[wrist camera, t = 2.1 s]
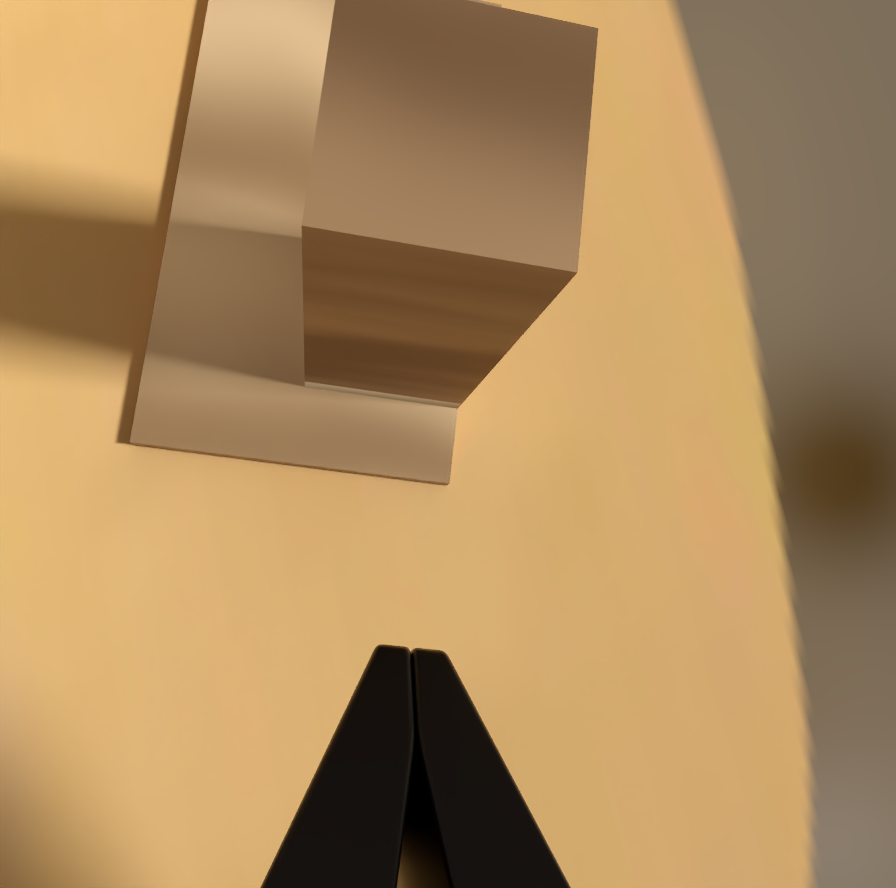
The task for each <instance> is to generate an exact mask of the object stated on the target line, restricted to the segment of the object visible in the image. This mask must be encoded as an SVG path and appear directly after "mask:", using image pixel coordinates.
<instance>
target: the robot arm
mask: <svg viewBox="0 0 896 888" xmlns="http://www.w3.org/2000/svg"><path fill="white" fill-rule="evenodd" d="M261 888H570V886H569V884H568V882H567V880H566V878H565V876H564V874H563V872H562V871H561V869H560V867H559V865H558V863H557V861H556V859H555V857H554V855H553V853H552V852H551V850H550V848H549V846H548V844H547V842H546V840H545V838H544V836H543V835H542V833H541V831H540V829H539V827H538V825H537V823H536V821H535V819H534V818H533V816H532V814H531V812H530V810H529V808H528V806H527V804H526V802H525V800H524V799H523V797H522V795H521V793H520V791H519V789H518V787H517V785H516V783H515V782H514V780H513V778H512V776H511V774H510V772H509V770H508V768H507V766H506V765H505V763H504V761H503V759H502V757H501V755H500V753H499V751H498V749H497V748H496V746H495V744H494V742H493V740H492V738H491V736H490V734H489V732H488V730H487V729H486V727H485V725H484V723H483V721H482V719H481V717H480V715H479V713H478V712H477V710H476V708H475V706H474V704H473V702H472V700H471V698H470V696H469V695H468V693H467V691H466V689H465V687H464V685H463V683H462V681H461V679H460V678H459V676H458V674H457V672H456V670H455V668H454V666H453V664H452V662H451V660H450V659H449V657H448V655H447V654H446V653H445V652H443V651H440V650H432V649H422V648H415V649H413V650H412V651H411V652H410V650H409V649H408V648H407V647H402V646H392V645H378V646H377V647H376V648H375V649H374V651H373V653H372V655H371V658H370V660H369V662H368V664H367V666H366V668H365V670H364V672H363V674H362V676H361V678H360V681H359V683H358V685H357V687H356V689H355V691H354V693H353V695H352V697H351V699H350V702H349V704H348V706H347V708H346V710H345V712H344V714H343V716H342V718H341V720H340V722H339V725H338V727H337V729H336V731H335V733H334V735H333V737H332V739H331V741H330V743H329V745H328V748H327V750H326V752H325V754H324V756H323V758H322V760H321V762H320V764H319V766H318V768H317V771H316V773H315V775H314V777H313V779H312V781H311V783H310V785H309V787H308V789H307V791H306V794H305V796H304V798H303V800H302V802H301V804H300V806H299V808H298V810H297V812H296V815H295V817H294V819H293V821H292V823H291V825H290V827H289V829H288V831H287V833H286V835H285V838H284V840H283V842H282V844H281V846H280V848H279V850H278V852H277V854H276V856H275V858H274V861H273V863H272V865H271V867H270V869H269V871H268V873H267V875H266V877H265V879H264V881H263V884H262V886H261Z"/></svg>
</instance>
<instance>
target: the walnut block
mask: <svg viewBox="0 0 896 888" xmlns="http://www.w3.org/2000/svg"><path fill="white" fill-rule="evenodd" d="M597 36H598V28H594V27H589V26H585V25H580V24H576V23H571V22H566V21H562V20H557V19H552V18H548V17H543V16H538V15H534V14H529V13H524V12H520V11H515V10H510V9H506V8H501V7H497V6H492V5H487V4H483V3H478V2H473V1H469V0H335V4H334V11H333V18H332V24H331V31H330V38H329V44H328V51H327V58H326V65H325V71H324V78H323V85H322V92H321V98H320V105H319V112H318V118H317V125H316V132H315V139H314V145H313V152H312V159H311V166H310V172H309V179H308V186H307V192H306V199H305V206H304V213H303V219H302V272H303V323H304V374H305V387H310V388H317V389H324V390H331V391H338V392H345V393H352V394H359V395H366V396H373V397H380V398H387V399H394V400H401V401H408V402H415V403H422V404H429V405H436V406H443V407H450V408H457V409H458V407H459V406H460V405H461V404H462V403H463V402H464V401H465V399H466V398H467V397H468V396H469V395H470V394H471V393H472V392H473V390H474V389H475V388H476V387H477V386H478V385H479V384H480V382H481V381H482V380H483V379H484V378H485V377H486V376H487V375H488V373H489V372H490V371H491V370H492V369H493V368H494V367H495V365H496V364H497V363H498V362H499V361H500V360H501V359H502V357H503V356H504V355H505V354H506V353H507V352H508V351H509V350H510V348H511V347H512V346H513V345H514V344H515V343H516V342H517V340H518V339H519V338H520V337H521V336H522V335H523V334H524V332H525V331H526V330H527V329H528V328H529V327H530V326H531V325H532V323H533V322H534V321H535V320H536V319H537V318H538V317H539V315H540V314H541V313H542V312H543V311H544V310H545V309H546V308H547V306H548V305H549V304H550V303H551V302H552V301H553V300H554V298H555V297H556V296H557V295H558V294H559V293H560V292H561V290H562V289H563V288H564V287H565V286H566V285H567V284H568V283H569V281H570V280H571V279H572V278H573V277H574V276H575V275H576V273H577V271H578V259H579V247H580V236H581V224H582V212H583V200H584V189H585V177H586V165H587V153H588V141H589V130H590V118H591V106H592V94H593V83H594V71H595V59H596V47H597Z"/></svg>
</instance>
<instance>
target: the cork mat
mask: <svg viewBox="0 0 896 888" xmlns="http://www.w3.org/2000/svg"><path fill="white" fill-rule="evenodd" d="M469 1H473V2H478V3H483V4H487V5H492V6H497V7H501V5H499V4H495V3H490V2H485V1H481V0H469ZM334 4H335V0H209V1H208V6H207V12H206V18H205V23H204V29H203V34H202V40H201V46H200V51H199V57H198V62H197V68H196V73H195V79H194V85H193V90H192V96H191V101H190V107H189V113H188V118H187V124H186V129H185V135H184V141H183V146H182V152H181V157H180V163H179V168H178V174H177V180H176V185H175V191H174V196H173V202H172V208H171V213H170V219H169V224H168V230H167V235H166V241H165V247H164V252H163V258H162V263H161V269H160V275H159V280H158V286H157V291H156V297H155V303H154V308H153V314H152V319H151V325H150V330H149V336H148V342H147V347H146V353H145V358H144V364H143V370H142V375H141V381H140V386H139V392H138V398H137V403H136V409H135V414H134V420H133V425H132V431H131V437H130V443H131V444H133V445H139V446H146V447H154V448H162V449H170V450H178V451H185V452H193V453H201V454H209V455H216V456H224V457H232V458H240V459H247V460H255V461H263V462H271V463H278V464H286V465H294V466H302V467H309V468H317V469H325V470H333V471H340V472H348V473H356V474H364V475H371V476H379V477H387V478H395V479H402V480H410V481H418V482H426V483H433V484H441V485H448V484H449V482H450V473H451V464H452V455H453V445H454V436H455V427H456V418H457V408H450V407H443V406H436V405H429V404H422V403H415V402H408V401H401V400H394V399H387V398H380V397H373V396H366V395H359V394H352V393H345V392H338V391H331V390H324V389H317V388H310V387H305V374H304V323H303V272H302V219H303V213H304V206H305V199H306V192H307V186H308V179H309V172H310V166H311V159H312V152H313V145H314V139H315V132H316V125H317V118H318V112H319V105H320V98H321V92H322V85H323V78H324V71H325V65H326V58H327V51H328V44H329V38H330V31H331V24H332V18H333V11H334Z"/></svg>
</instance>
